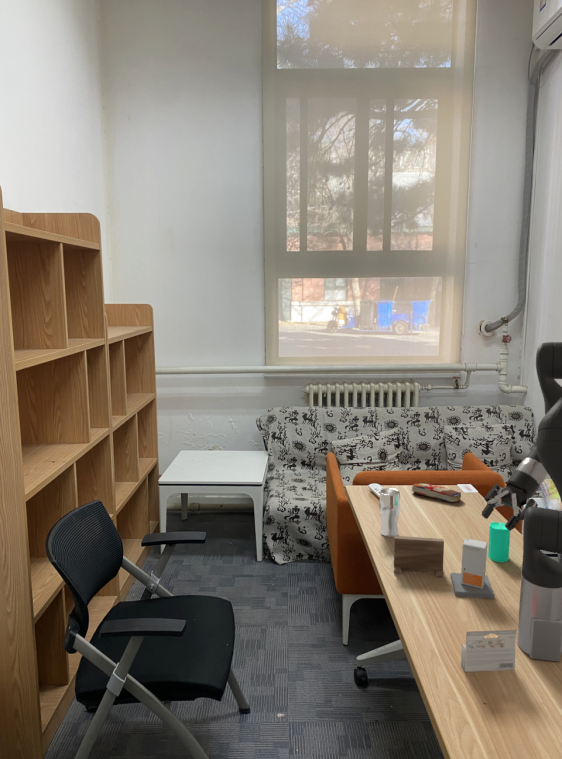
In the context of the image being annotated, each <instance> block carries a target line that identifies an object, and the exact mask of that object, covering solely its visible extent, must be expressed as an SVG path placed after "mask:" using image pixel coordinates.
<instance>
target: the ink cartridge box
mask: <svg viewBox="0 0 562 759" xmlns="http://www.w3.org/2000/svg"><path fill="white" fill-rule="evenodd" d="M492 634H493V635H495V636H498V637H488V638H485V637H486V636H489V635H492ZM516 640H517V629H500V630H497V629H496V630H479V631H478V630H473V631H466V638H465V644H463V643H462V644H461V652H460V653H461V654H460V656H461V657H460V665H461V668H462V670H463V671H464V673H469V672H471V673H472V672H473V673H474V672H496V671H515V668H516V643H517V642H516Z"/></svg>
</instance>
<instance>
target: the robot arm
mask: <svg viewBox="0 0 562 759" xmlns="http://www.w3.org/2000/svg"><path fill="white" fill-rule="evenodd" d="M535 355H536V356H535V369H536V375H537V379H538V383H539V388H540V390H541V394H542V397H543V402H544V416H543V417H542V419H541V420H540V422H539V424H538V425H537V437H536V440H535V442H534V444H533V445H532V446H533V447H532V448H531V449H530V451H529V452H528V453H527V455H526V456H525V458H524V459H523V460H522V461H521V462H520V463H519V464H518V466H517V467H516V468H515V470H514V471H513V473H512V474H511V476H510V477H509V478H508V480H507V483H506V485H505V487H501V486H500V485H499V484H498V483H495V484H494V485H493V486H492V487H491V489H490V490H489V491H488V493H487V494H486V495H485V496H484V498H483V499H484V501H485V502H486V503H487V504H486V506H485V507H484V508H483V510H482V512H481V516H482V517H483V518H484V519H486V520H487V519H489V517H490V516H491V515H492V513H493V512H494V510H495V509H496V508H498V507H503V506H505V507H509V508H510V509H512V510H513V515H511V516H510V518H508V520H507V521H506V523H505V524H506V525H505V527H506V528H507V529H508V530H510V532H511V531H512V530H515V528H516V527H517V525H518V523H519V522H520V521H523V524H522V526H523V528H522V534H523V535H522V537H523V538H522V543H523V544H522V545H523V546H522V550H523V552H522V553H523V554H522V564H521V577H520V578H521V579H520V591H519V608H518V610H519V611H518V624H517V625H518V626H517V627H518V628H517V639H516V640H517V646H518V648H520V649H521V650H522V651H523V652H524V653H525V654H527V655H528V656H529V657H530V659H533V660H542V661H550V662H553V661H554V662H561V657H562V563H560V562H559V561H557V560H556V559H553V558H552V557H551V556H548V555H547V554H545V553H544V551H545V552H547V553H548V552H549V553H553V554H559V555H562V510H557V509H553V508H546V507H539V504H538V502H536V500H535V499H534V498H533V497H534V495H535V493H536V492H537V491H538V489H539V488H540V487H541V485H543V483H544V481H545V480H546V478H547V476H549V478H550V479H551V481H552V483H553V484H554V487H555V489H556V491H557V492H558V495H559V498H560V501H561V503H562V385H560V384H559V383H558V381H557V380H562V341H555V342H554V341H548V342H547V341H546V342H542V343H540V344H539V345H538V347H537V349H536V354H535ZM523 507H524V508H523Z"/></svg>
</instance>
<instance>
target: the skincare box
mask: <svg viewBox="0 0 562 759" xmlns="http://www.w3.org/2000/svg"><path fill="white" fill-rule="evenodd" d="M463 540H464V541H463V544H462V552H461V553H462V556H461V584H465V585H469V586H473V587H477V588H481V589H483V587H484V583H485V575H486V573H487V572H486V571H487V570H486V569H487V557H488V554H487V552H488V542H486V541H481V540H477V539H470V538H466V537H465V538H464V539H463Z"/></svg>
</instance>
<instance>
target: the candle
mask: <svg viewBox="0 0 562 759" xmlns="http://www.w3.org/2000/svg"><path fill="white" fill-rule="evenodd" d="M505 525H506V523H505V522H502V521H501V520H499V522H497V521H492V522H490V523H489V532H488V533H489V534H488V535H489V536H488V549H487V552H488V554H487V557H488V559H490V560H491V561H493V562H497V563H506V562H508V561H509V560H510V545H511V544H510V543H511V541H510V540H511V531H510V530H508V529H507V528H506V527H505Z"/></svg>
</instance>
